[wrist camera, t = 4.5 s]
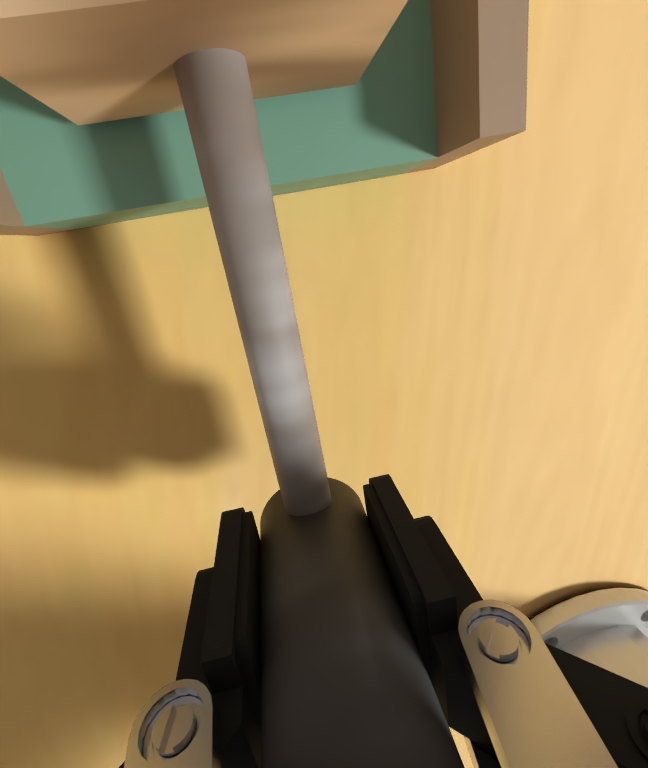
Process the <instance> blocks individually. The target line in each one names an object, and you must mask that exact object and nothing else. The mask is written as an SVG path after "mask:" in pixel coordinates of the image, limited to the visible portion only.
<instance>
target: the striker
mask: <svg viewBox="0 0 648 768" xmlns="http://www.w3.org/2000/svg"><path fill="white" fill-rule="evenodd" d="M407 1H408V0H0V76H1V77H3V78H4V79H6V80H8V81H9V82H11V83H12V84H14V85H15V86H17V87H19V88H20V89H22V90H23V91H25V92H26V93H28V94H30V95H31V96H33V97H34V98H36V99H37V100H39V101H41V102H42V103H44V104H45V105H47V106H48V107H50V108H52V109H53V110H55V111H56V112H58V113H59V114H61V115H63V116H64V117H66V118H67V119H69V120H70V121H72V122H74V123H75V124H77V125H78V126H79V125H86V124H92V123H99V122H106V121H113V120H120V119H126V118H133V117H140V116H147V115H153V114H160V113H167V112H174V111H181V110H184V111H185V115H186V119H187V122H188V126H189V130H190V134H191V138H192V142H193V146H194V150H195V154H196V158H197V162H198V166H199V170H200V174H201V178H202V182H203V186H204V190H205V194H206V198H207V202H208V206H209V210H210V214H211V218H212V222H213V226H214V229H215V233H216V237H217V241H218V245H219V249H220V253H221V257H222V261H223V265H224V269H225V273H226V277H227V281H228V285H229V289H230V293H231V297H232V301H233V305H234V309H235V313H236V317H237V321H238V325H239V329H240V333H241V337H242V340H243V344H244V348H245V352H246V356H247V360H248V364H249V368H250V372H251V376H252V380H253V384H254V388H255V392H256V396H257V400H258V404H259V408H260V412H261V416H262V420H263V424H264V428H265V432H266V436H267V440H268V444H269V447H270V451H271V455H272V459H273V463H274V467H275V471H276V475H277V479H278V483H279V487H280V490H278V491H277V492H276V493H275V494H274V495H273V496H272V497H271V498H270V500H269V501H268V502H267V504H266V506H265V508H264V510H263V513H262V516H261V522H260V541H261V768H464V765H463V763H462V760H461V758H460V755H459V753H458V750H457V747H456V745H455V742H454V740H453V737H452V734H451V732H450V729H449V727H448V724H447V722H446V719H445V716H444V714H443V711H442V709H441V706H440V704H439V701H438V698H437V696H436V693H435V691H434V688H433V686H432V683H431V680H430V678H429V675H428V673H427V670H426V668H425V665H424V662H423V660H422V657H421V655H420V652H419V650H418V647H417V645H416V642H415V639H414V637H413V634H412V632H411V629H410V627H409V624H408V621H407V619H406V616H405V614H404V611H403V608H402V606H401V603H400V601H399V598H398V596H397V593H396V590H395V588H394V585H393V583H392V580H391V578H390V575H389V572H388V570H387V567H386V565H385V562H384V559H383V557H382V554H381V552H380V549H379V547H378V544H377V541H376V539H375V536H374V534H373V531H372V529H371V526H370V523H369V521H368V518H367V516H366V513H365V510H364V508H363V505H362V503H361V500H360V498H359V497H358V495H357V494H356V493H355V491H354V490H353V489H352V488H350V487H349V486H348V485H346V484H345V483H343V482H341V481H338V480H335V479H332V478H327V474H326V468H325V463H324V458H323V453H322V448H321V443H320V438H319V433H318V427H317V422H316V417H315V412H314V407H313V402H312V397H311V391H310V386H309V381H308V376H307V371H306V366H305V361H304V355H303V350H302V345H301V340H300V335H299V330H298V325H297V320H296V314H295V309H294V304H293V299H292V294H291V289H290V284H289V278H288V273H287V268H286V263H285V258H284V253H283V248H282V242H281V237H280V232H279V227H278V222H277V217H276V212H275V207H274V201H273V196H272V191H271V186H270V181H269V176H268V171H267V165H266V160H265V155H264V150H263V145H262V140H261V135H260V129H259V124H258V119H257V114H256V109H255V104H254V100H255V99H262V98H269V97H275V96H282V95H289V94H296V93H302V92H309V91H316V90H323V89H329V88H336V87H343V86H350V85H356V84H357V82H358V81H359V79H360V78H361V76H362V74H363V73H364V71H365V69H366V68H367V66H368V65H369V63H370V61H371V60H372V58H373V56H374V55H375V53H376V52H377V50H378V48H379V47H380V45H381V43H382V42H383V40H384V39H385V37H386V35H387V34H388V32H389V30H390V29H391V27H392V26H393V24H394V22H395V21H396V19H397V18H398V16H399V14H400V13H401V11H402V9H403V8H404V6H405V5H406V3H407Z"/></svg>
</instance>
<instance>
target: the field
mask: <svg viewBox="0 0 648 768" xmlns="http://www.w3.org/2000/svg"><path fill="white" fill-rule="evenodd" d="M528 11H529V0H408V1H407V3H406V5H405V6H404V8H403V9H402V11H401V13H400V14H399V16H398V18H397V19H396V21H395V22H394V24H393V26H392V27H391V29H390V30H389V32H388V34H387V35H386V37H385V39H384V40H383V42H382V43H381V45H380V47H379V48H378V50H377V52H376V53H375V55H374V56H373V58H372V60H371V61H370V63H369V65H368V66H367V68H366V69H365V71H364V73H363V74H362V76H361V78H360V79H359V81H358V82H357V84H356V85H350V86H343V87H336V88H329V89H323V90H316V91H309V92H302V93H296V94H289V95H282V96H275V97H269V98H262V99H255V100H254V104H255V109H256V114H257V119H258V124H259V129H260V135H261V140H262V145H263V150H264V155H265V160H266V165H267V171H268V176H269V181H270V186H271V191H272V196H274V195H280V194H286V193H292V192H298V191H304V190H309V189H315V188H321V187H327V186H333V185H339V184H345V183H351V182H357V181H362V180H368V179H374V178H380V177H386V176H392V175H398V174H404V173H410V172H415V171H421V170H427V169H433V168H436V167H439V166H441V165H443V164H446V163H448V162H451V161H453V160H455V159H458V158H460V157H463V156H465V155H467V154H470V153H472V152H475V151H477V150H480V149H482V148H484V147H487V146H489V145H492V144H494V143H496V142H499V141H501V140H504V139H506V138H508V137H511V136H513V135H516V134H518V133H520V132H523V131H525V130H526V95H527V53H528ZM203 207H209V206H208V202H207V198H206V194H205V190H204V186H203V182H202V178H201V174H200V170H199V166H198V162H197V158H196V154H195V150H194V146H193V142H192V138H191V134H190V130H189V126H188V122H187V119H186V115H185V111H184V110H181V111H174V112H167V113H160V114H153V115H147V116H140V117H133V118H126V119H120V120H113V121H106V122H99V123H92V124H86V125H79V126H78V125H77V124H75V123H74V122H72V121H70V120H69V119H67V118H66V117H64V116H63V115H61V114H59V113H58V112H56V111H55V110H53V109H52V108H50V107H48V106H47V105H45V104H44V103H42V102H41V101H39V100H37V99H36V98H34V97H33V96H31V95H30V94H28V93H26V92H25V91H23V90H22V89H20V88H19V87H17V86H15V85H14V84H12V83H11V82H9V81H8V80H6V79H4V78H3V77H1V76H0V235H33V236H38V235H44V234H50V233H56V232H62V231H68V230H74V229H80V228H85V227H91V226H97V225H103V224H109V223H115V222H121V221H127V220H133V219H138V218H144V217H150V216H156V215H162V214H168V213H174V212H180V211H186V210H192V209H197V208H203Z"/></svg>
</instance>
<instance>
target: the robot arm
mask: <svg viewBox="0 0 648 768" xmlns="http://www.w3.org/2000/svg"><path fill="white" fill-rule="evenodd" d="M363 490H364V497H365V504H366V511H367V518H368V521H369V523H370V526H371V529H372V531H373V534H374V536H375V539H376V541H377V544H378V547H379V549H380V552H381V554H382V557H383V559H384V562H385V565H386V567H387V570H388V572H389V575H390V578H391V580H392V583H393V585H394V588H395V590H396V593H397V596H398V598H399V601H400V603H401V606H402V608H403V611H404V614H405V616H406V619H407V621H408V624H409V627H410V629H411V632H412V634H413V637H414V639H415V642H416V645H417V647H418V650H419V652H420V655H421V657H422V660H423V662H424V665H425V668H426V670H427V673H428V675H429V678H430V680H431V683H432V686H433V688H434V691H435V693H436V696H437V698H438V701H439V704H440V706H441V709H442V711H443V714H444V716H445V719H446V721H447V724H448V726H449V727H451V728H452V729H454V730H456V731H457V732H459V733H460V734H462V735H464V738H465V741H466V745H467V748H468V751H469V754H470V757H471V760H472V763H473V766H474V768H648V591H645V590H641V589H637V588H610V589H602V590H596V591H592V592H589V593H585V594H581V595H578V596H575V597H573V598H570V599H568V600H566V601H563V602H561V603H558V604H556V605H554V606H552V607H551V608H549V609H547V610H545V611H544V612H542V613H540V614H538V615H537V616H535V617H534V618H532V619H531V620H529V619H528V617H526V616H525V615H524V614H523V613H521V612H520V611H519V610H518V609H516V608H514V607H512V606H510V605H508V604H506V603H503V602H499V601H495V600H483V599H482V597H481V596H480V594H479V593H478V591H477V589H476V588H475V586H474V585H473V583H472V581H471V580H470V578H469V577H468V575H467V573H466V572H465V570H464V568H463V567H462V565H461V564H460V562H459V560H458V559H457V557H456V556H455V554H454V552H453V551H452V549H451V547H450V546H449V544H448V543H447V541H446V539H445V538H444V536H443V535H442V533H441V531H440V530H439V528H438V526H437V525H436V523H435V522H434V520H433V519H432V518H431V517H430V516H424V517H420V518H416V519H413V517H412V515H411V513H410V511H409V509H408V508H407V506H406V504H405V502H404V500H403V499H402V497H401V495H400V493H399V491H398V489H397V488H396V486H395V484H394V482H393V480H392V479H391V477H390V475H389V474H387V475H382V476H378V477H373V478H370V479H369V484H367V485H363ZM119 768H261V541H260V537H259V534H258V530H257V527H256V523H255V520H254V516H253V513H252V511H249V512H245V510H244V508H243V507H242V508H238V509H234V510H229V511H225V512H222V515H221V521H220V528H219V535H218V542H217V549H216V556H215V563H214V567H212V568H208V569H204V570H200V571H198V573H197V575H196V579H195V584H194V589H193V594H192V599H191V605H190V610H189V615H188V620H187V625H186V630H185V636H184V641H183V646H182V651H181V656H180V661H179V667H178V672H177V677H176V681H175V682H173V683H171V684H169V685H167V686H165V687H163V688H162V689H161V690H160V691H158V692H157V693H156V694H155V695H154V696H152V697H151V699H150V700H149V701H148V702H147V703H146V705H145V706H144V707H143V708H142V710H141V711H140V713H139V715H138V717H137V719H136V720H135V722H134V724H133V728H132V731H131V734H130V737H129V742H128V747H127V753H126V758H125V761H124V762H123V764H122V765H121V766H120V767H119Z"/></svg>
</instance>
